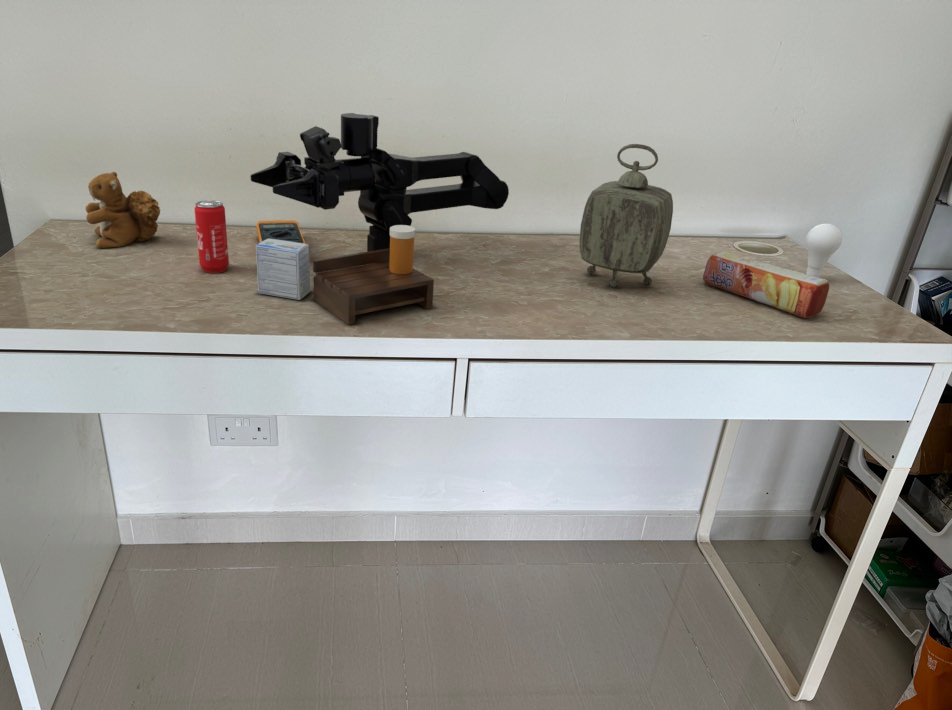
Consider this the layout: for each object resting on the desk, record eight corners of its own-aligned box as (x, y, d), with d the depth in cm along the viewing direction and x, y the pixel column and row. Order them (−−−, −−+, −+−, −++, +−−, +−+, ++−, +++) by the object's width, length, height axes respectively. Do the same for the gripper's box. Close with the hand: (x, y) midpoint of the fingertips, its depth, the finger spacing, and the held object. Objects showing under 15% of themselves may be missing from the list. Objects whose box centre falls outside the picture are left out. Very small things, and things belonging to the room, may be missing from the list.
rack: (394, 285, 137) (395, 247, 134) (432, 307, 129) (434, 267, 125) (313, 300, 129) (312, 260, 126) (348, 324, 121) (348, 282, 117)
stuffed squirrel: (92, 234, 156) (82, 167, 150) (165, 232, 159) (158, 167, 153) (87, 249, 148) (75, 179, 141) (163, 246, 151) (155, 178, 145)
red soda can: (222, 275, 138) (216, 208, 132) (195, 272, 139) (188, 205, 133) (233, 266, 143) (229, 201, 137) (207, 263, 143) (201, 198, 138)
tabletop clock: (659, 285, 144) (687, 146, 131) (647, 299, 136) (677, 154, 124) (583, 270, 149) (604, 135, 137) (569, 283, 142) (590, 143, 130)
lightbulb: (828, 277, 152) (846, 222, 146) (829, 287, 147) (847, 230, 141) (795, 272, 154) (811, 217, 148) (794, 281, 149) (811, 225, 144)
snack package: (697, 285, 145) (705, 250, 141) (718, 279, 148) (727, 245, 145) (804, 323, 130) (816, 285, 126) (824, 315, 133) (836, 278, 130)
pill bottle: (404, 265, 132) (406, 223, 128) (418, 272, 129) (420, 230, 125) (383, 268, 130) (384, 226, 126) (397, 276, 127) (398, 233, 123)
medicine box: (311, 292, 132) (310, 243, 128) (299, 301, 129) (298, 251, 124) (270, 286, 134) (267, 237, 130) (257, 294, 131) (254, 244, 127)
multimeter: (262, 264, 145) (261, 246, 143) (256, 236, 160) (255, 219, 158) (307, 262, 146) (307, 244, 145) (298, 235, 162) (297, 218, 160)
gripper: (317, 120, 141) (237, 125, 133) (369, 138, 128) (283, 144, 120) (318, 182, 146) (241, 190, 139) (368, 205, 133) (285, 215, 125)
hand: (261, 183), depth 130 cm, fingers open, 9 cm apart
